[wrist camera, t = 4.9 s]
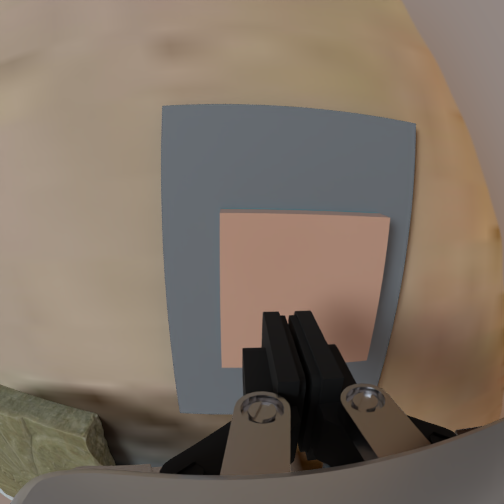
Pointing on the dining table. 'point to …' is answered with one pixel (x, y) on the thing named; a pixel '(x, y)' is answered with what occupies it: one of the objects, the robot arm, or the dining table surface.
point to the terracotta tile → (300, 274)
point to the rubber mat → (269, 197)
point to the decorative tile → (45, 439)
